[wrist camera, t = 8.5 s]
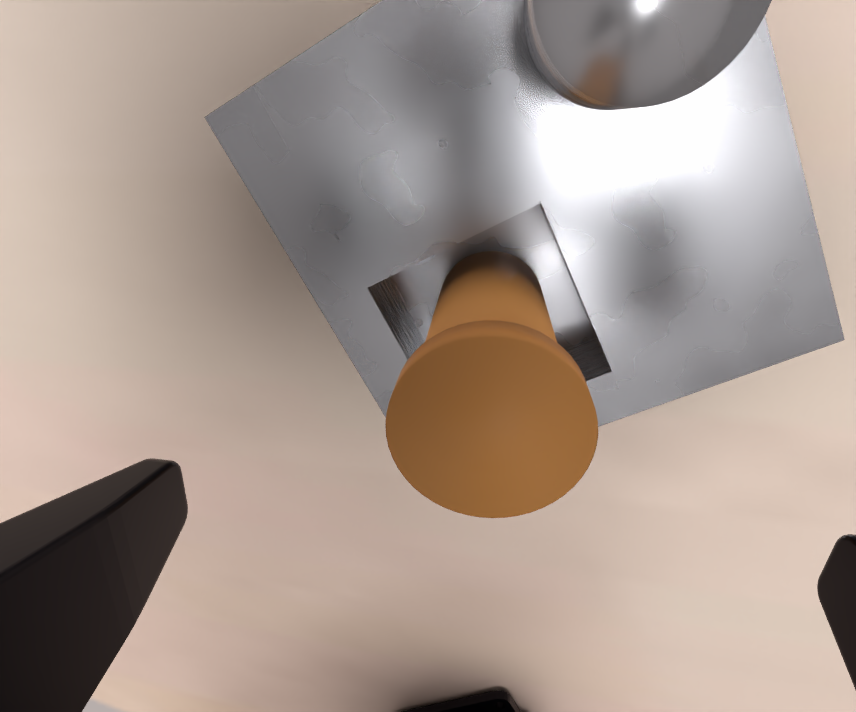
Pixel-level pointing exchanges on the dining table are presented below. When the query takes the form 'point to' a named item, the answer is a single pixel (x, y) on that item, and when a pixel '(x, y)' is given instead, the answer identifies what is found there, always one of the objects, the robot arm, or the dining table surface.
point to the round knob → (491, 398)
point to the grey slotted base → (547, 183)
